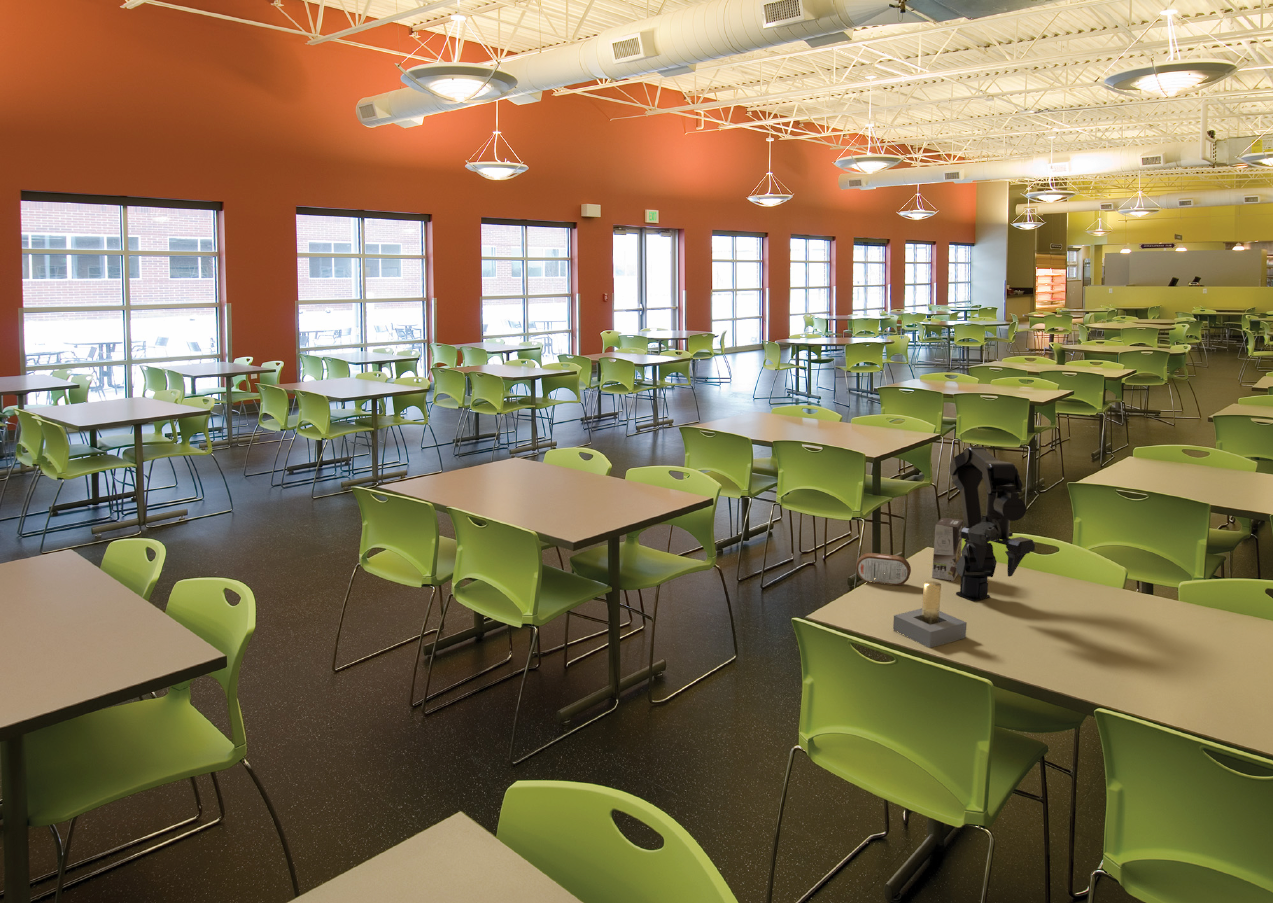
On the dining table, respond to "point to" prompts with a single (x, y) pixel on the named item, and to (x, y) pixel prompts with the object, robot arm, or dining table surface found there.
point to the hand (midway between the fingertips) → (994, 571)
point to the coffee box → (947, 548)
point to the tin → (883, 568)
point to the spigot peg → (931, 602)
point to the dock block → (930, 628)
